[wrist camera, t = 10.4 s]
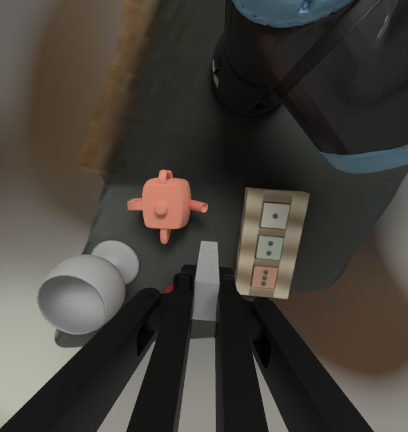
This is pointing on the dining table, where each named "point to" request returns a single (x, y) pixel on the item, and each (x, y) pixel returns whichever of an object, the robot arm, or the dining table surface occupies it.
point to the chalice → (88, 288)
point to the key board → (252, 229)
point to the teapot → (166, 204)
